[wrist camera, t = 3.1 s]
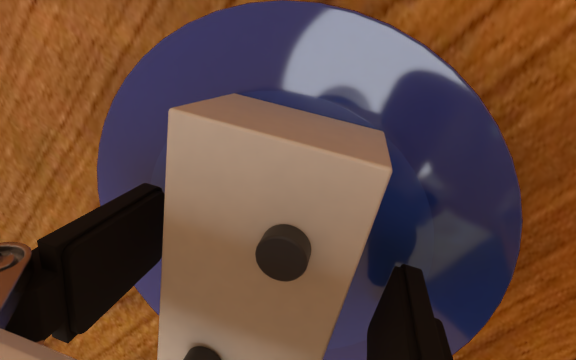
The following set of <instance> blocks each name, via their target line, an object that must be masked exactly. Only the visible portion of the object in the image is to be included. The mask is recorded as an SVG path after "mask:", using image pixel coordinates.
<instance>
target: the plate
mask: <svg viewBox="0 0 576 360" xmlns="http://www.w3.org/2000/svg"><path fill="white" fill-rule="evenodd" d="M234 93H235V94H239V95H243V96H247V97H250V98H254V99H258V100H262V101H266V102H270V103H274V104H278V105H282V106H286V107H290V108H294V109H298V110H302V111H305V112H309V113H313V114H317V115H321V116H325V117H329V118H333V119H337V120H341V121H345V122H349V123H353V124H356V125H360V126H364V127H368V128H372V129H376V130H380V131H383V132H384V134H385V139H386V143H387V148H388V152H389V156H390V161H391V165H392V174H391V177H390V180H389V182H388V185H387V188H386V190H385V193H384V196H383V198H382V201H381V204H380V207H379V209H378V212H377V215H376V217H375V220H374V223H373V225H372V228H371V231H370V233H369V236H368V239H367V241H366V244H365V247H364V250H363V252H362V255H361V258H360V260H359V263H358V266H357V268H356V271H355V274H354V276H353V279H352V282H351V284H350V287H349V290H348V293H347V295H346V298H345V301H344V303H343V306H342V309H341V311H340V314H339V317H338V319H337V322H336V325H335V327H334V330H333V333H332V336H331V338H330V341H329V344H328V346H327V349H326V352H325V354H324V357H323V360H367V331H368V327H369V324H370V321H371V319H372V317H373V314H374V312H375V310H376V308H377V305H378V303H379V301H380V298H381V296H382V294H383V291H384V289H385V287H386V284H387V282H388V280H389V278H390V275H391V273H392V271H393V269H394V267H395V266H398V267H400V266H401V265H402V264H406V265H409V266H413V267H416V268H419V269H421V270H422V272H423V276H424V280H425V283H426V287H427V291H428V295H429V299H430V303H431V307H432V310H433V314H434V318H437V319H439V320H441V321H442V324H443V326H444V329H445V333H446V336H447V340H448V343H449V347H450V350H451V354H452V355H453V354H455V353H456V352H457V351H458V350H460V349H461V348H462V347H463V346H465V345H466V344H467V343H469V341H470V340H471V339H472V338H473V337H474V336H475V335H476V334H477V333H478V332H479V331H480V330H481V329H482V328H483V327H484V326H485V325H486V323H487V322H488V320H489V319H490V317H491V316H492V315H493V313H494V312H495V310H496V309H497V307H498V306H499V304H500V303H501V301H502V299H503V297H504V295H505V292H506V290H507V288H508V286H509V284H510V282H511V280H512V277H513V273H514V270H515V266H516V263H517V259H518V255H519V252H520V242H521V232H522V222H523V219H522V206H521V192H520V186H519V182H518V178H517V174H516V170H515V166H514V162H513V158H512V156H511V154H510V151H509V149H508V147H507V144H506V142H505V140H504V138H503V135H502V133H501V131H500V128H499V126H498V125H497V123H496V122H495V120H494V118H493V117H492V115H491V114H490V112H489V111H488V109H487V108H486V106H485V105H484V103H483V102H482V100H481V98H480V97H479V95H478V94H477V93H476V92H475V91H474V90H473V89H472V88H471V87H470V86H469V84H468V83H467V82H466V81H465V80H464V79H463V78H462V77H461V76H460V74H459V73H458V72H457V71H456V70H455V69H454V68H453V67H452V66H451V65H449V64H448V63H447V62H446V61H444V60H443V59H442V58H441V57H439V56H438V55H437V54H436V53H434V52H433V51H432V50H431V49H430V48H428V47H427V46H426V45H425V44H423V43H421V42H420V41H418V40H416V39H415V38H413V37H411V36H409V35H408V34H406V33H404V32H402V31H401V30H399V29H397V28H396V27H394V26H392V25H390V24H388V23H385V22H383V21H380V20H378V19H375V18H373V17H370V16H367V15H365V14H362V13H360V12H357V11H354V10H350V9H346V8H341V7H337V6H332V5H328V4H324V3H319V2H306V1H291V0H276V1H264V2H252V3H246V4H242V5H238V6H234V7H230V8H226V9H222V10H218V11H215V12H213V13H210V14H208V15H205V16H203V17H201V18H198V19H196V20H194V21H191V22H189V23H187V24H186V25H184V26H183V27H181V28H179V29H178V30H176V31H175V32H173V33H171V34H170V35H168V36H167V37H165V38H164V39H163V40H161V41H160V42H159V43H158V44H157V45H156V46H155V47H154V48H152V49H151V50H150V51H149V52H148V53H147V54H146V55H145V56H143V57H142V59H141V60H140V61H139V62H138V63H137V65H136V66H135V67H134V68H133V70H132V71H131V72H130V73H129V74H128V76H127V77H126V78H125V80H124V82H123V84H122V85H121V87H120V89H119V90H118V92H117V94H116V96H115V97H114V99H113V101H112V104H111V106H110V109H109V112H108V114H107V117H106V119H105V122H104V126H103V130H102V134H101V139H100V143H99V151H98V162H97V182H98V194H99V201H100V206H102V205H104V204H106V203H108V202H109V201H111V200H113V199H115V198H117V197H119V196H121V195H122V194H124V193H126V192H128V191H130V190H132V189H134V188H135V187H137V186H139V185H141V184H143V183H148V184H151V185H155V186H158V187H160V188H162V191H163V192H164V193H165V178H166V156H167V133H168V111H169V109H170V108H173V107H177V106H182V105H186V104H190V103H195V102H199V101H203V100H208V99H212V98H216V97H220V96H225V95H229V94H234ZM161 268H162V257H161V259H160V261H159V262H158V263H157V264H156V265H155V266H154V267H153V268H152V269H151V270H150V271H149V272H148V273H147V274H146V275H144V276H143V277H142V278H141V279H140V280H139V281H138V282H137V283H136V284H135V285H134V286H135V288H136V289H137V290H138V292H139V293H140V294H141V295H142V297H143V298H144V299H145V300H146V302H147V303H148V304H149V305H150V307H151V308H152V309H153V310H154V311H155V312H156V313H157V314H158V315H159V313H160V291H161Z"/></svg>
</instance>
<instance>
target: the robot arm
mask: <svg viewBox="0 0 576 360" xmlns="http://www.w3.org/2000/svg"><path fill="white" fill-rule="evenodd" d="M164 201H165V193H164V192H163V191H162V188H160V187H158V186H155V185H151V184H148V183H143V184H141V185H139V186H137V187H135V188H134V189H132V190H130V191H128V192H126V193H124V194H122V195H121V196H119V197H117V198H115V199H113V200H111V201H109V202H108V203H106V204H104V205H102V206H100V207H98V208H96V209H95V210H93V211H91V212H89V213H87V214H85V215H84V216H82V217H80V218H78V219H76V220H74V221H72V222H71V223H69V224H67V225H65V226H63V227H61V228H59V229H58V230H56V231H54V232H52V233H50V234H48V235H46V236H45V237H43V238H41V239H39V240H37V243H38V247H37V248H35V249H34V250H32V251H31V249H30V247H28V246H27V245H25V244H22V243H18V242H3V243H0V360H76V359H74V358H72V357H69V356H67V355H64V354H62V353H60V352H57V351H55V350H52V349H50V348H47V347H45V346H43V343H44V341H45V339H46V338H48V337H49V336H50V335H51V334H52V337H54V338H56V339H59V340H61V341H63V342H66V343H69V342H70V341H71V340H72V339H73V338H74V337H75V336H76V335H77V334H82V333H84V332H86V331H87V330H88V329H89V328H90V327H91V326H92V325H93V324H94V323H95V322H96V321H97V320H98V319H99V318H100V317H102V316H103V315H104V314H105V313H106V312H107V311H108V310H109V309H110V308H111V307H112V306H113V305H114V304H115V303H116V302H117V301H118V300H119V299H120V298H121V297H122V296H124V295H125V294H126V293H127V292H128V291H129V290H130V289H131V288H132V287H133V286H134V285H135V284H136V283H137V282H138V281H139V280H140V279H141V278H142V277H143V276H144V275H146V274H147V273H148V272H149V271H150V270H151V269H152V268H153V267H154V266H155V265H156V264H157V263H158V262H159V261H160V259H161V257H162V246H163V223H164ZM367 360H453V357H452V354H451V350H450V347H449V343H448V340H447V336H446V333H445V329H444V326H443V324H442V321H441V320H439V319H437V318H434V314H433V310H432V307H431V303H430V299H429V295H428V291H427V287H426V283H425V280H424V276H423V272H422V270H421V269H419V268H416V267H413V266H409V265H406V264H402V265H401V266H400V267H398V266H395V267H394V269H393V271H392V273H391V275H390V278H389V280H388V282H387V284H386V287H385V289H384V291H383V294H382V296H381V298H380V301H379V303H378V305H377V308H376V310H375V312H374V314H373V317H372V319H371V321H370V324H369V327H368V331H367Z"/></svg>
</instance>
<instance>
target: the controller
mask: <svg viewBox="0 0 576 360" xmlns="http://www.w3.org/2000/svg"><path fill="white" fill-rule="evenodd" d="M391 174H392V165H391V161H390V156H389V152H388V148H387V143H386V139H385V134H384V132H383V131H380V130H376V129H372V128H368V127H364V126H360V125H356V124H353V123H349V122H345V121H341V120H337V119H333V118H329V117H325V116H321V115H317V114H313V113H309V112H305V111H302V110H298V109H294V108H290V107H286V106H282V105H278V104H274V103H270V102H266V101H262V100H258V99H254V98H250V97H247V96H243V95H239V94H235V93H234V94H229V95H225V96H220V97H216V98H212V99H208V100H203V101H199V102H195V103H190V104H186V105H182V106H177V107H173V108H170V109H169V111H168V133H167V156H166V178H165V201H164V223H163V246H162V268H161V291H160V313H159V336H158V359H157V360H323V357H324V354H325V352H326V349H327V346H328V344H329V341H330V338H331V336H332V333H333V330H334V327H335V325H336V322H337V319H338V317H339V314H340V311H341V309H342V306H343V303H344V301H345V298H346V295H347V293H348V290H349V287H350V284H351V282H352V279H353V276H354V274H355V271H356V268H357V266H358V263H359V260H360V258H361V255H362V252H363V250H364V247H365V244H366V241H367V239H368V236H369V233H370V231H371V228H372V225H373V223H374V220H375V217H376V215H377V212H378V209H379V207H380V204H381V201H382V198H383V196H384V193H385V190H386V188H387V185H388V182H389V180H390V177H391Z"/></svg>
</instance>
